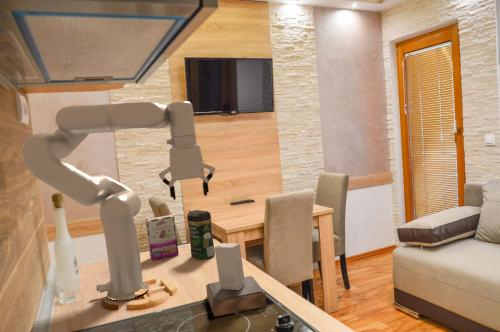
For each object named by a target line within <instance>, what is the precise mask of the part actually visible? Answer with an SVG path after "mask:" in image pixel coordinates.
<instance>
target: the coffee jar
mask: <svg viewBox="0 0 500 332" xmlns="http://www.w3.org/2000/svg"><path fill="white" fill-rule="evenodd" d="M186 220H187V224H188V231H189V239H190V242H189V243H190V256H191V257H192V258H194V259H198V260H205V259H211V258H213V257H214V256H216V254H215V245H214V238H213V231H212V215H211V212H210V211H207V210H202V209H201V210H200V209H193V210H191V211H188V213H187V219H186Z"/></svg>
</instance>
